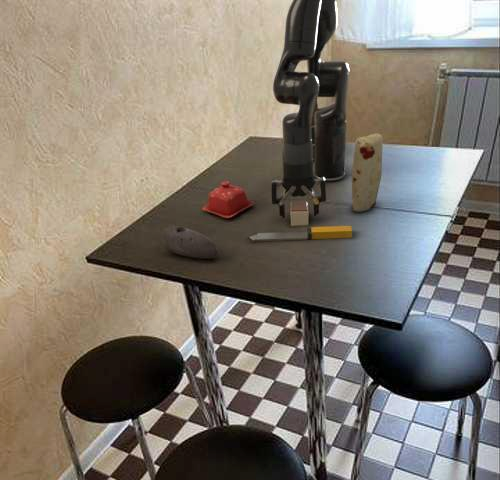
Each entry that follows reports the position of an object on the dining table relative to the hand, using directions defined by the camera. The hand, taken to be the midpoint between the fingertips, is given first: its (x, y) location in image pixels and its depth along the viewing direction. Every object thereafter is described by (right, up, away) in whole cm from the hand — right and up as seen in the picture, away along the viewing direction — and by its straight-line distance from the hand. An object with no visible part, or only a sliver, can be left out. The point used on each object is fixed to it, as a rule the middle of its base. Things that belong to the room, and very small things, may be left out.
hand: (299, 216), depth 132 cm
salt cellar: (0, -1, +1) cm, 1 cm away
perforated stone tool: (-27, -12, -10) cm, 31 cm away
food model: (+18, +3, +4) cm, 19 cm away
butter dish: (-19, +3, +9) cm, 22 cm away
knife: (-1, -6, -7) cm, 9 cm away
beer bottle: (+8, +27, +39) cm, 48 cm away
